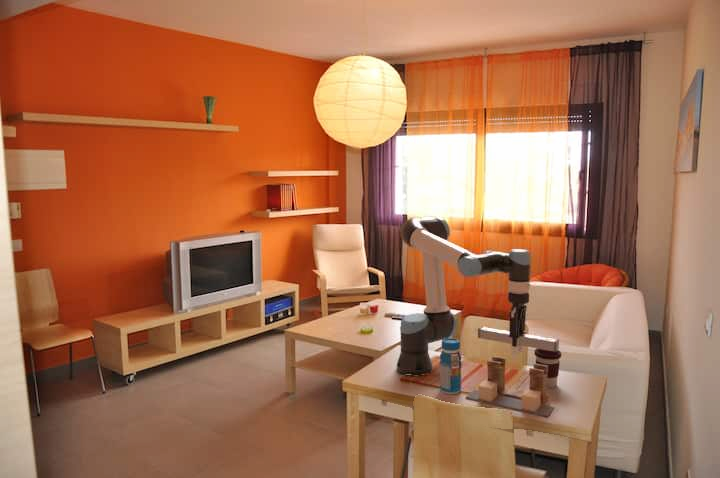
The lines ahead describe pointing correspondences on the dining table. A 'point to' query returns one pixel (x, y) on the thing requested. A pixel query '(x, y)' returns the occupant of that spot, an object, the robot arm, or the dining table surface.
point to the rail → (523, 339)
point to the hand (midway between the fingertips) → (516, 352)
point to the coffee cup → (549, 364)
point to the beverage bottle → (450, 366)
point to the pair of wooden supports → (536, 384)
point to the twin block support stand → (510, 399)
